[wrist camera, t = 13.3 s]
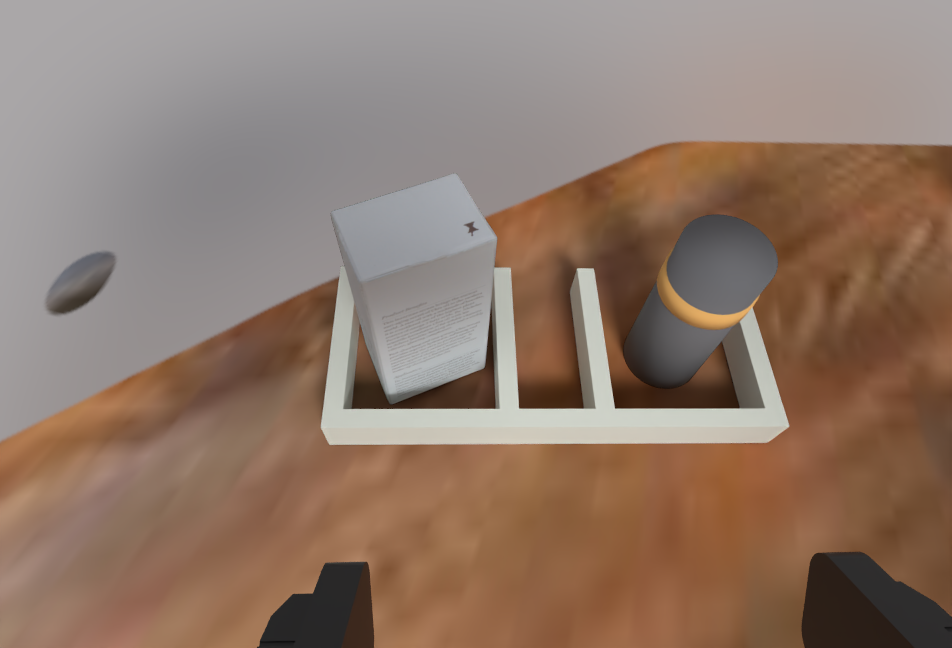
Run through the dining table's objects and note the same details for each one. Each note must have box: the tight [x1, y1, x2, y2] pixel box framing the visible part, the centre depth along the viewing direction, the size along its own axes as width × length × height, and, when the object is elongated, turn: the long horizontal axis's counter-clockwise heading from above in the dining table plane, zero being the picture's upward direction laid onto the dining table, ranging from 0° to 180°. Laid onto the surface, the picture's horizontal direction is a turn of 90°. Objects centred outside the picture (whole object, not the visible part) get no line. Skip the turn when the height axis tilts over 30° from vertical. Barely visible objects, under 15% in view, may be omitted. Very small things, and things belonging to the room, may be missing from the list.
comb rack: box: [321, 266, 789, 445], centre depth 34 cm, size 24×10×2 cm, turn 91°
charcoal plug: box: [623, 215, 778, 389], centre depth 31 cm, size 5×5×10 cm
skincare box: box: [331, 173, 497, 404], centre depth 29 cm, size 6×4×12 cm
